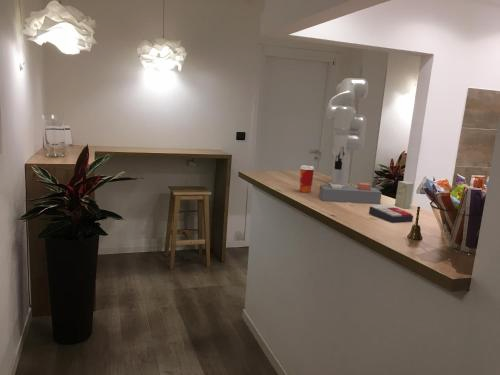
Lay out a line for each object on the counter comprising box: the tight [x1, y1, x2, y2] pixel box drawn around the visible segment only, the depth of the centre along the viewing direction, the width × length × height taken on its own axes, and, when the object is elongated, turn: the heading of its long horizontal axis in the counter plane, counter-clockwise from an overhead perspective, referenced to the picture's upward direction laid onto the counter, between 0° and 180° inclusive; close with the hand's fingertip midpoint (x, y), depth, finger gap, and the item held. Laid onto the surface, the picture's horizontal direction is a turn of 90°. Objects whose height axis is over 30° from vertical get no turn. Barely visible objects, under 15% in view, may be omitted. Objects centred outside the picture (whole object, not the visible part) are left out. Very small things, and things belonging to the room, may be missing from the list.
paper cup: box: [299, 164, 315, 194], centre depth 222 cm, size 8×8×14 cm
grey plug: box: [330, 184, 342, 189], centre depth 208 cm, size 5×5×7 cm
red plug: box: [357, 182, 372, 191], centre depth 208 cm, size 5×5×7 cm
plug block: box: [318, 184, 382, 205], centre depth 209 cm, size 12×28×6 cm, turn 90°
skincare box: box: [394, 180, 415, 209], centre depth 199 cm, size 6×4×12 cm
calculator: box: [368, 204, 414, 224], centre depth 177 cm, size 11×4×15 cm
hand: (337, 169), depth 207 cm, fingers closed
